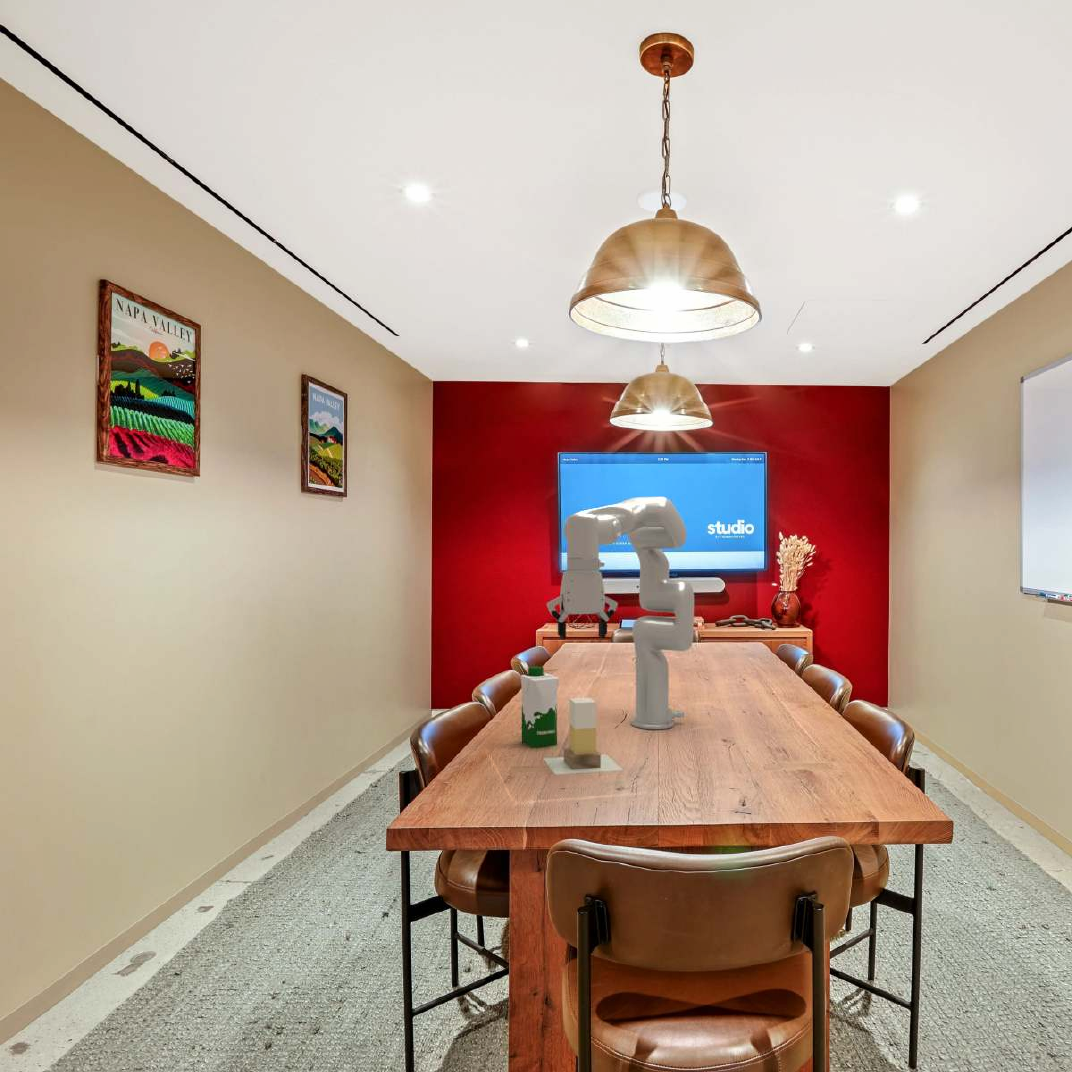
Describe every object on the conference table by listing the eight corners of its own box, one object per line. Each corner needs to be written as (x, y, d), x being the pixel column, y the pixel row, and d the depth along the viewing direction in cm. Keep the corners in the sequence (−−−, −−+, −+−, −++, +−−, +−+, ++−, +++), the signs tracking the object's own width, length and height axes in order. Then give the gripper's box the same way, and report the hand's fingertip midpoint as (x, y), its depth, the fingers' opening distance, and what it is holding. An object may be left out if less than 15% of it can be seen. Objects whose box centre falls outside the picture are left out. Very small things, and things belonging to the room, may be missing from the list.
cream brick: (589, 722, 166) (589, 697, 166) (595, 728, 161) (595, 702, 161) (569, 723, 165) (569, 698, 165) (575, 729, 160) (575, 703, 160)
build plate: (606, 756, 170) (606, 754, 170) (622, 772, 158) (622, 769, 158) (543, 760, 167) (543, 758, 167) (555, 777, 155) (555, 774, 155)
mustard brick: (589, 747, 166) (589, 722, 166) (595, 753, 161) (595, 727, 161) (569, 748, 165) (569, 723, 165) (574, 754, 160) (575, 729, 160)
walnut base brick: (591, 758, 167) (591, 746, 167) (600, 767, 160) (600, 754, 160) (563, 760, 165) (563, 747, 165) (571, 769, 158) (571, 756, 158)
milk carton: (546, 738, 186) (546, 664, 186) (562, 747, 178) (562, 670, 178) (516, 743, 182) (517, 667, 182) (532, 752, 174) (532, 672, 174)
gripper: (612, 565, 169) (612, 635, 168) (543, 565, 165) (543, 637, 165) (622, 566, 161) (622, 639, 161) (551, 566, 158) (550, 641, 157)
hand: (582, 638), depth 163 cm, fingers open, 9 cm apart
